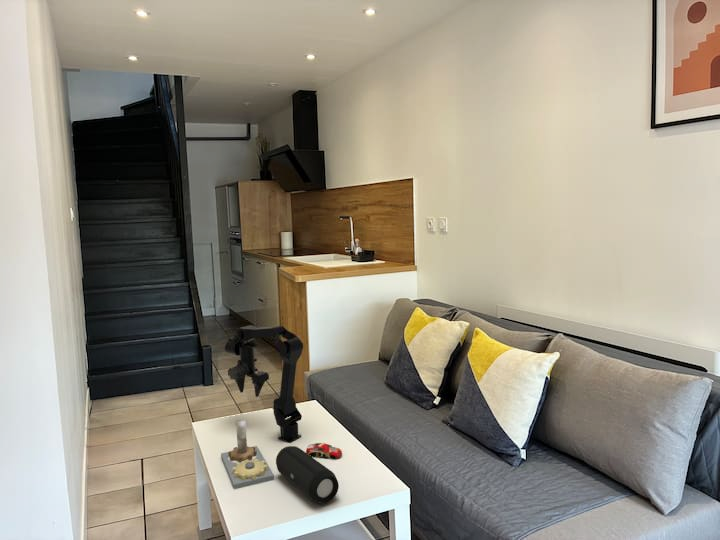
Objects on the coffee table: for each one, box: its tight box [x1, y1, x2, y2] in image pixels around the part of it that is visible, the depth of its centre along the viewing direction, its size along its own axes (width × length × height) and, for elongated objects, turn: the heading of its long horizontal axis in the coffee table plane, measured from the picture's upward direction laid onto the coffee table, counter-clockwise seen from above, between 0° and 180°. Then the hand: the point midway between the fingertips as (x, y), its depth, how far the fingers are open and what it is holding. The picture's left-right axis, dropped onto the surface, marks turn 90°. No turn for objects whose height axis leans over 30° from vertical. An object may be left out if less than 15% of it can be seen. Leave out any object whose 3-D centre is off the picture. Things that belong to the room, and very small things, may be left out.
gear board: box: [220, 445, 275, 490], centre depth 184 cm, size 24×13×4 cm, turn 24°
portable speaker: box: [275, 445, 340, 505], centre depth 170 cm, size 26×10×10 cm, turn 35°
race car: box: [305, 442, 343, 460], centre depth 192 cm, size 13×5×4 cm, turn 71°
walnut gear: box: [227, 419, 257, 463], centre depth 189 cm, size 10×10×12 cm
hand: (249, 394), depth 219 cm, fingers open, 9 cm apart
